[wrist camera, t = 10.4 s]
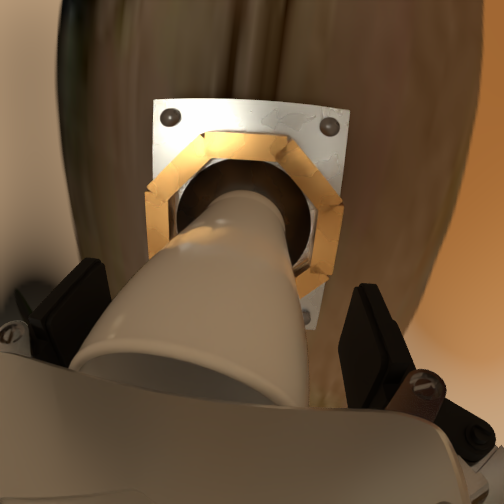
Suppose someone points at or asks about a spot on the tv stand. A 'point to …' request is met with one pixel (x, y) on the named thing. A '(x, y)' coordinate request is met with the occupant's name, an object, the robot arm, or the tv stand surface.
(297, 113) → the octagon ring knob plate
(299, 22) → the tv stand surface
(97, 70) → the tv stand surface
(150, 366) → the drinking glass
